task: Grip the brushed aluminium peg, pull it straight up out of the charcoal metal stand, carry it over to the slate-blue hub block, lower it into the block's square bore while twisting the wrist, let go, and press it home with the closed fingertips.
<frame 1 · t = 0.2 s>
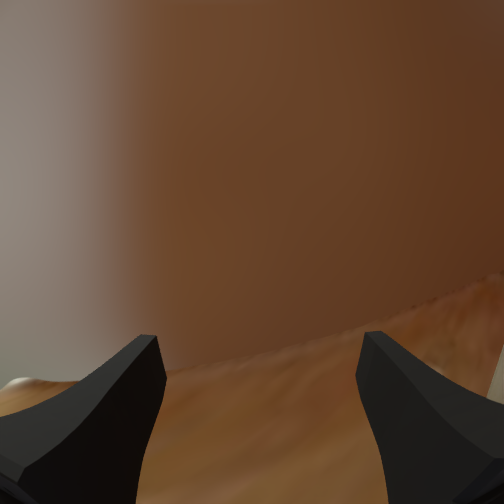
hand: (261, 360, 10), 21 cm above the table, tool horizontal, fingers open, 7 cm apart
plant pot: (492, 457, 19), on the table
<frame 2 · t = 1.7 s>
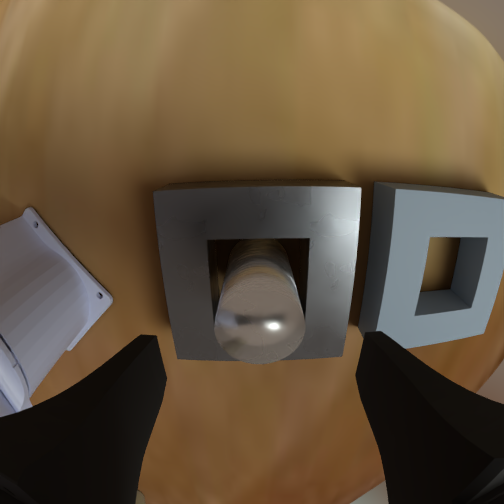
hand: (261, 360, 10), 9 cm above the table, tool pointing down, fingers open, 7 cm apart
charcoal stand: (258, 263, 18), on the table
hub block: (431, 258, 18), on the table
aluminium peg: (259, 290, 15), in the charcoal stand
plant pot: (121, 487, 31), on the table
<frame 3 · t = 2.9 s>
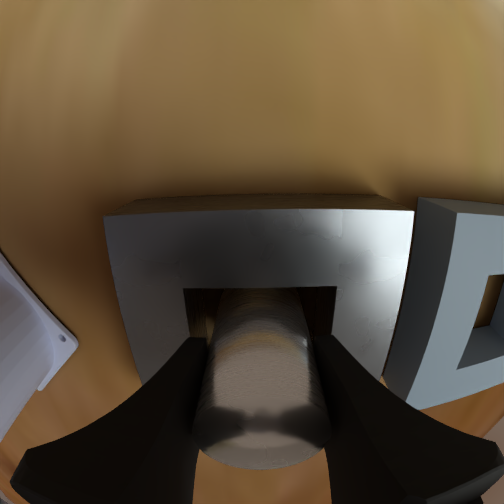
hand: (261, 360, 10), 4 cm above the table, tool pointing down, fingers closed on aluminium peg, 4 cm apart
charcoal stand: (260, 308, 13), on the table
hub block: (474, 293, 13), on the table
aluminium peg: (261, 358, 10), in the charcoal stand, touching gripper
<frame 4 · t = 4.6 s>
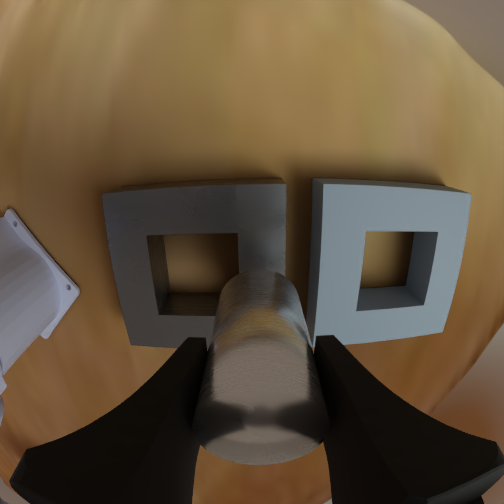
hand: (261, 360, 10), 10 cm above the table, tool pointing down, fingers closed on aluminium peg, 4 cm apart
charcoal stand: (202, 258, 19), on the table
hub block: (380, 254, 19), on the table
aluminium peg: (260, 354, 10), point 10 cm above the table, touching gripper
when the fingers open (5 cm above the table, at t = 6.7 s): aluminium peg stays where it is, resting in hub block.
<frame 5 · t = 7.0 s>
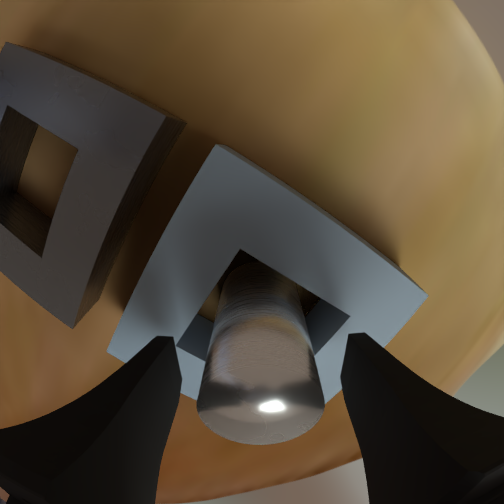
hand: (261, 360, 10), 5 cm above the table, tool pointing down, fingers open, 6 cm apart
charcoal stand: (57, 170, 12), on the table
hub block: (260, 297, 14), on the table
aluminium peg: (260, 340, 11), in the hub block
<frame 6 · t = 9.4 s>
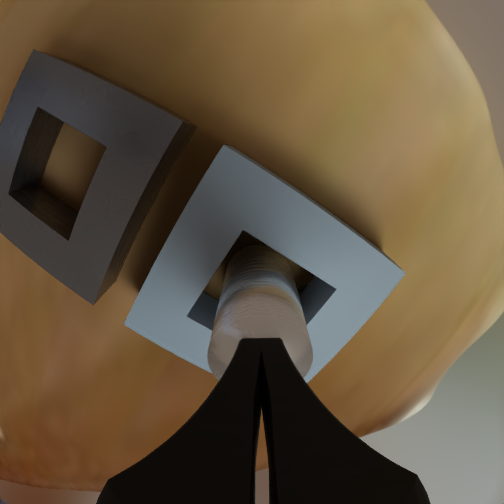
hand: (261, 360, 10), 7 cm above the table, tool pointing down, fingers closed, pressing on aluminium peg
charcoal stand: (80, 166, 14), on the table
hub block: (259, 276, 16), on the table
aluminium peg: (259, 309, 13), in the hub block, touching gripper
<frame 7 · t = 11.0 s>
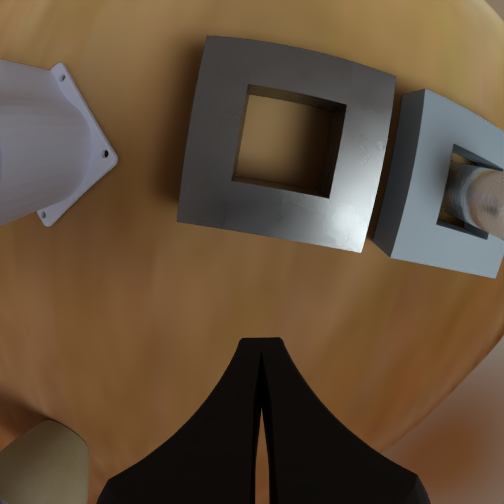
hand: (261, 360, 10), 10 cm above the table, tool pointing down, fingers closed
charcoal stand: (284, 141, 17), on the table
hub block: (448, 186, 17), on the table
aluminium peg: (477, 196, 14), in the hub block
plant pot: (65, 435, 29), on the table
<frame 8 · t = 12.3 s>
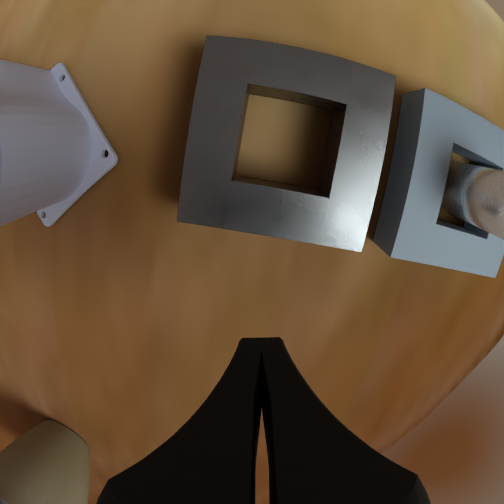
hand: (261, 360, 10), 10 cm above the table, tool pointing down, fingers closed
charcoal stand: (284, 141, 17), on the table
hub block: (448, 186, 17), on the table
aluminium peg: (477, 195, 14), in the hub block
plant pot: (65, 435, 29), on the table
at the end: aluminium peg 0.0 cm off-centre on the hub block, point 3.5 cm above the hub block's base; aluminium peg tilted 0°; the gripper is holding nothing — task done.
